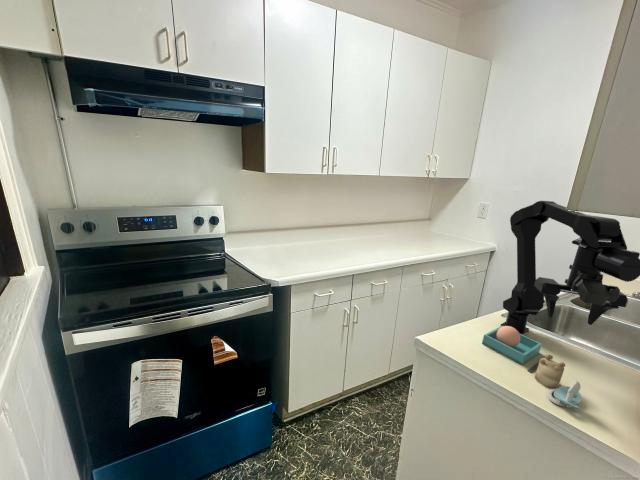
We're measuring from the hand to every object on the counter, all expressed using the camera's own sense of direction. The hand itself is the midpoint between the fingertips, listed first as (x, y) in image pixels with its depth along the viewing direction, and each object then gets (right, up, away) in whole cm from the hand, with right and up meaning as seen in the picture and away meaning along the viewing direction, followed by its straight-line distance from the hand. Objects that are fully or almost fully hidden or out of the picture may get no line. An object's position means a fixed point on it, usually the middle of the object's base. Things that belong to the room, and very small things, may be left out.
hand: (569, 320), depth 85 cm
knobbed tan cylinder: (-10, -14, -5) cm, 18 cm away
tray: (-11, -10, +8) cm, 17 cm away
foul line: (-6, -12, +2) cm, 14 cm away
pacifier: (-10, -16, -11) cm, 22 cm away
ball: (-12, -7, +8) cm, 16 cm away
